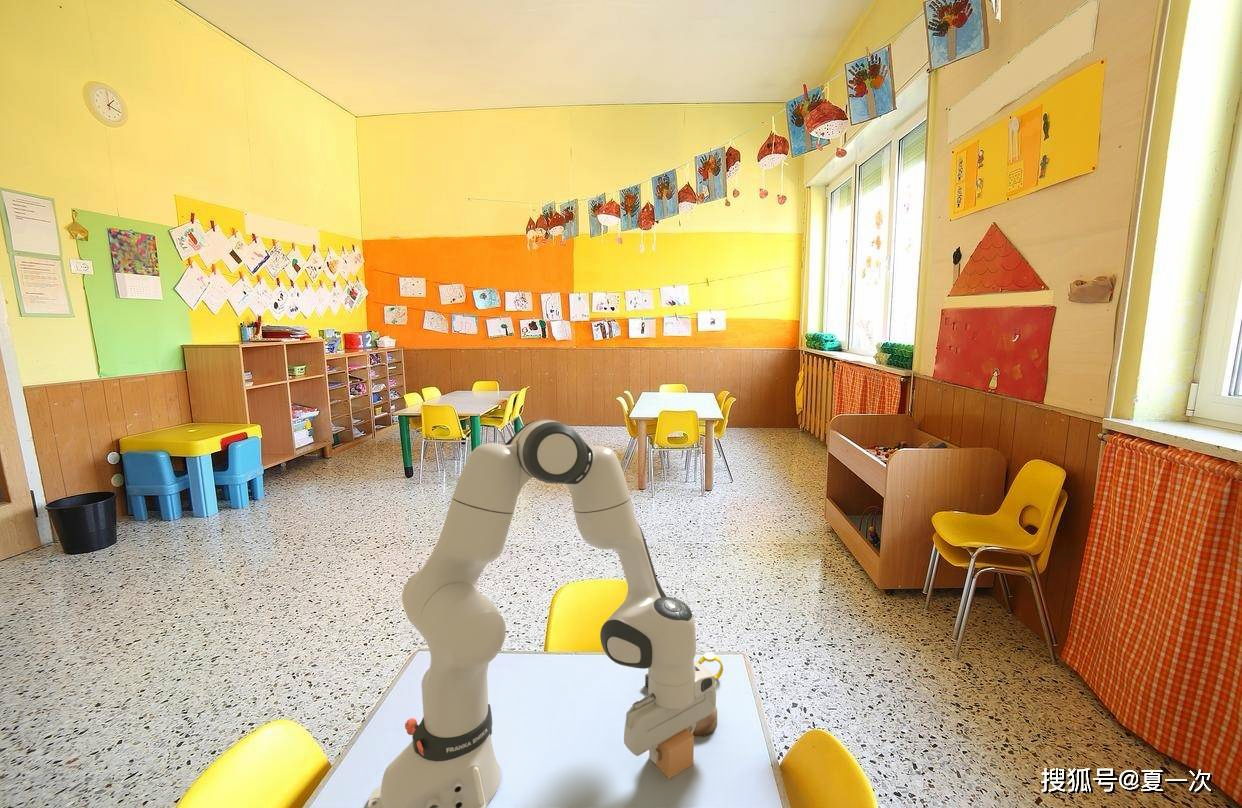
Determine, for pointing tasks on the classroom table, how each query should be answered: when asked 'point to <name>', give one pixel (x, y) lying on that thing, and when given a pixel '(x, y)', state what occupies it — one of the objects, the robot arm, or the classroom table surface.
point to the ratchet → (701, 721)
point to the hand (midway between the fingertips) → (671, 750)
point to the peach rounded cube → (676, 753)
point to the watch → (710, 658)
